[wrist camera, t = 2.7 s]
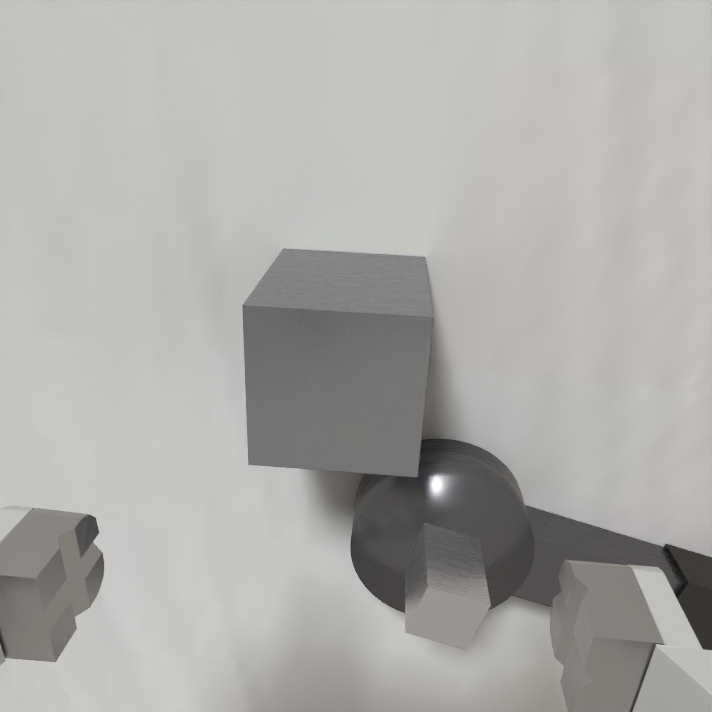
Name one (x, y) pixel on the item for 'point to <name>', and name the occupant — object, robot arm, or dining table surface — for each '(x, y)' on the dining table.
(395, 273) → the plain grey cube block
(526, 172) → the dining table surface
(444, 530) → the ratchet
